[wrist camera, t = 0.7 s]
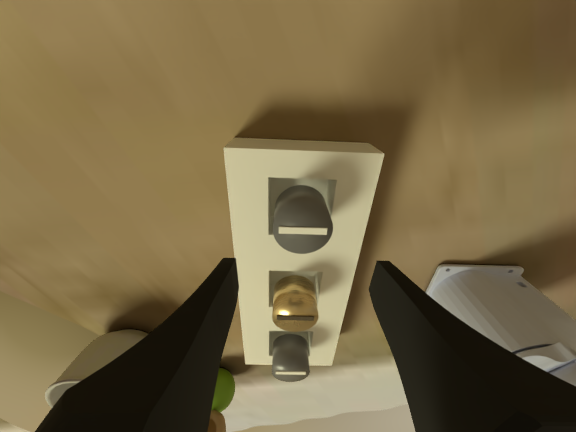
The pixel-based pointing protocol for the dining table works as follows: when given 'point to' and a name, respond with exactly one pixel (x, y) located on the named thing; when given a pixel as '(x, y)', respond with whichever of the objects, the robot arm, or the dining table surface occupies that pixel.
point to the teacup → (93, 360)
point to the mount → (280, 263)
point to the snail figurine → (221, 400)
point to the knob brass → (294, 304)
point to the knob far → (290, 358)
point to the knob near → (301, 220)
